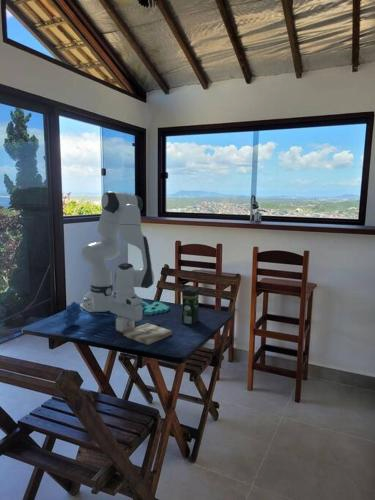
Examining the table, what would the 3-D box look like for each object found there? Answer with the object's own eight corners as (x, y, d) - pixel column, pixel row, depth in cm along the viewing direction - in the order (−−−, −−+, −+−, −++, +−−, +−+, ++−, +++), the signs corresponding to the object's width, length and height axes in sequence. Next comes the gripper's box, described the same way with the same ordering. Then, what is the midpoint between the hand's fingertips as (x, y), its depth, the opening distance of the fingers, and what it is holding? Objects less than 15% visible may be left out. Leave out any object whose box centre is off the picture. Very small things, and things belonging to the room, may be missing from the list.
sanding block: (115, 330, 173) (115, 318, 172) (128, 326, 179) (128, 314, 178) (122, 332, 170) (122, 320, 169) (134, 328, 176) (134, 316, 175)
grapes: (74, 320, 186) (73, 298, 184) (84, 322, 183) (83, 300, 181) (57, 327, 176) (56, 303, 174) (67, 330, 173) (66, 305, 171)
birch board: (123, 335, 167) (123, 331, 167) (147, 326, 179) (147, 322, 179) (147, 344, 157) (147, 340, 157) (171, 334, 169) (171, 330, 169)
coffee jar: (186, 318, 194) (187, 284, 191) (200, 320, 191) (201, 286, 188) (178, 323, 185) (179, 288, 183) (192, 326, 182) (193, 290, 179)
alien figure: (128, 314, 200) (163, 317, 196) (128, 310, 200) (163, 313, 196) (140, 304, 220) (172, 306, 216) (140, 300, 219) (172, 303, 215)
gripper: (106, 294, 176) (106, 321, 178) (134, 303, 164) (134, 332, 166) (116, 292, 181) (116, 318, 183) (144, 300, 168) (144, 328, 170)
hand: (125, 325), depth 174 cm, fingers closed on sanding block, 4 cm apart
